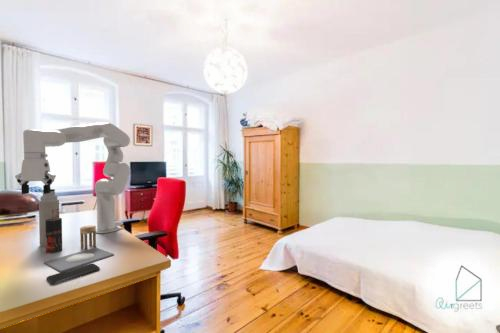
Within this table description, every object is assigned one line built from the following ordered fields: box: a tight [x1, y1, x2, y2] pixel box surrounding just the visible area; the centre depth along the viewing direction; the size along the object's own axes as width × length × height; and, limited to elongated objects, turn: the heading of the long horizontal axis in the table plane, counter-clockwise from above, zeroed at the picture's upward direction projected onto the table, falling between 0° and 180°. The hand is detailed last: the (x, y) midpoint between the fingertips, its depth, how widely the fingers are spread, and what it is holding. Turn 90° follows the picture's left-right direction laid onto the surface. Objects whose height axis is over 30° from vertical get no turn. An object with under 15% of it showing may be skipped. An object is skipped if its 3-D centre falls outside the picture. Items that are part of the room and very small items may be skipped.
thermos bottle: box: [38, 188, 60, 248], centre depth 124 cm, size 8×8×28 cm
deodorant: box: [45, 217, 63, 255], centre depth 114 cm, size 6×6×15 cm
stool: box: [79, 224, 97, 250], centre depth 119 cm, size 6×6×10 cm
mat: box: [43, 246, 115, 273], centre depth 105 cm, size 20×16×1 cm
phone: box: [46, 263, 101, 286], centre depth 90 cm, size 8×1×15 cm
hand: (36, 193), depth 113 cm, fingers open, 9 cm apart
